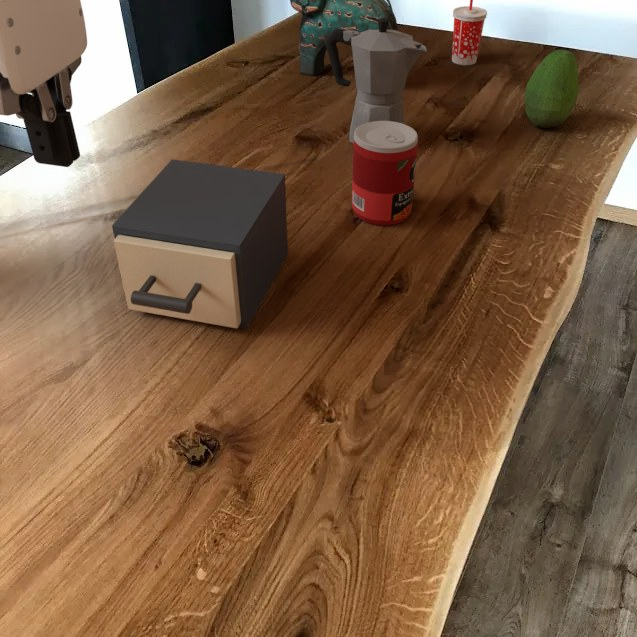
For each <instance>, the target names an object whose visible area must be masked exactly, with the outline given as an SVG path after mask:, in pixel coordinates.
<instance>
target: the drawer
mask: <svg viewBox="0 0 637 637" xmlns="http://www.w3.org/2000/svg"><path fill="white" fill-rule="evenodd" d="M113 245H114V249H115V254H116V259H117V264H118V268H119V273H120V277H121V282H122V287H123V290H124V295H125V300H126V304H127V309H128V310H132V311H137V312H142V313H148V314H154V315H160V316H164V317H165V316H166V317H170V318H176V319H181V320H187V321H192V322H198V323H202V324H203V323H205V324H210V325H216V326H221V327H226V328H232V329H239V328H238V327H239V325H240V323H241V315H240V304H239V294H238V283H237V272H236V261H235V253H233V251H226V250H214V249H207V248H201V247H194V246H188V245H182V244H175V243H174V242H169V241H162V240H156V239H149V238H143V237H136V236H134V237H130V236H124V235H118V236H117V237H116V238H114V239H113Z"/></svg>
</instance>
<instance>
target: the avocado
mask: <svg viewBox="0 0 637 637" xmlns="http://www.w3.org/2000/svg"><path fill="white" fill-rule="evenodd" d="M578 67H579V66H578V60H577V56H576V55H575V54H574V53H573V52H571V51H569V50H567V49H555V50H553V51H552V52H550V53H548V54H547V55H546V56H545V57H544V58H543V60H541V61H540V63H539V65H538V66H537V68H536V69H535V70H534V72H533V73H532V74H531V76H530V78H529V80H528V82H527V83H526V87H525V92H524V96H523V101H524V108H525V110H524V111H525V114H526V116H527V118H528V119H529V120H530V122H531V123H532V125H534V126H536V127H540V128H542V129H550V128H554V127H555V128H556V127H558V126H560V125H562V124H563V123H564V122H565V121H567V119H568V118H569V116H570V115H571V113H572V111H573V110H574V108H575V106H576V105H577V100H578V97H579V92H580V85H579V84H580V83H579V68H578Z"/></svg>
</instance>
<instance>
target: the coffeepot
mask: <svg viewBox="0 0 637 637" xmlns="http://www.w3.org/2000/svg"><path fill="white" fill-rule="evenodd" d="M388 22H389V19H387V18H379V19H378V26H379V30H367V31H364V32H361V33H359V32H357V31H353V30H343V29H338V28H337V29H334V30H333V31H332V32H331V34H330V35H329V36H328V37H327V38H326V40H325V46H326V49H327V50H326V52H327V56H328V59H329V62H330V65H331V69H332V73H333V76H334V79H335V82H336V84H337V85H339V86H341V87H349V86H350V84H351V80H350V79H349V80H348V79H346V78H344V76H343V66H342V63H341V61H340V54H339V48H338V46H337V43H342V44H344V45H347V46H350V47H351V52H352V60H353V69H354V71H353V72H354V78H355V87H356V89H357V92H356V93H357V94H356V97H355V101H354V106H353V112H352V116H351V123H350V127H349V139H348V140H349V143H351V144H352V145H353V143H354V132H355V130H356V128H358V127H359V126H360V125H362V124H365V123H369V122H374V121H392V122H398V123H402V124H405V118H404V116H405V114H404V105H403V104H404V103H403V90H404V89H405V88H406V83H407V79H408V74H409V72H411V70H412V69H413V66H414V65H415V64H416V63H417V61H418V60H419V58H420V57H421V56H422V55H423V54H426V53H427V51H428V49H427V47H426V46H425V45H423V43H421V42H419V41H415V40H414V38H413V37H414V36H413V35H410V34H408V33H405V32H401V31H399V30H398V31H396V30H387V26H388Z"/></svg>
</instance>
